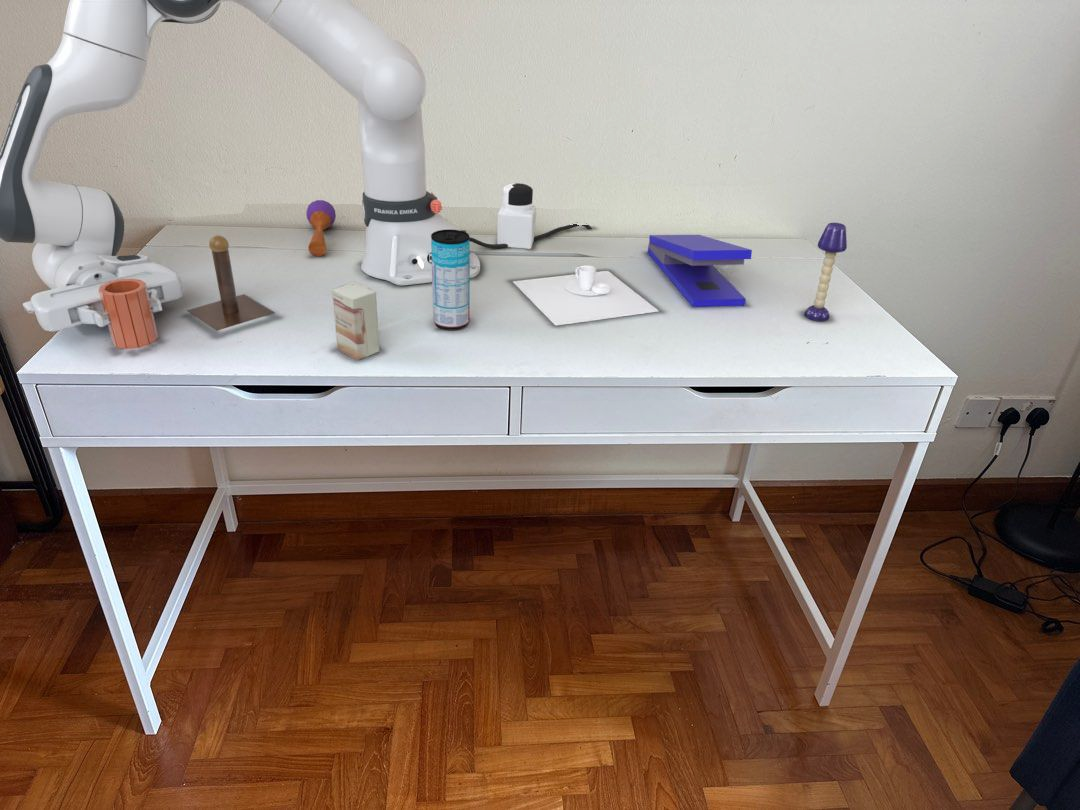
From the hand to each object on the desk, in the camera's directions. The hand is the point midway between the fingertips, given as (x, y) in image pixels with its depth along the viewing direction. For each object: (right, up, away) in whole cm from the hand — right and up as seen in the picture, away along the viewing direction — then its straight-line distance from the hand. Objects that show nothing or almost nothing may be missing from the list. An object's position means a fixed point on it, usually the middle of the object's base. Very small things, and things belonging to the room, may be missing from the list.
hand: (131, 313), depth 110 cm
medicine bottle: (+54, +21, +50) cm, 77 cm away
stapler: (+89, +12, +38) cm, 98 cm away
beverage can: (+45, 0, +15) cm, 47 cm away
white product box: (+32, -5, +5) cm, 33 cm away
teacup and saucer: (+67, +6, +27) cm, 73 cm away
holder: (+9, +1, +13) cm, 16 cm away
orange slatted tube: (-1, -4, +3) cm, 5 cm away
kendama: (+14, +21, +46) cm, 52 cm away
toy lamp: (+108, +2, +25) cm, 111 cm away
